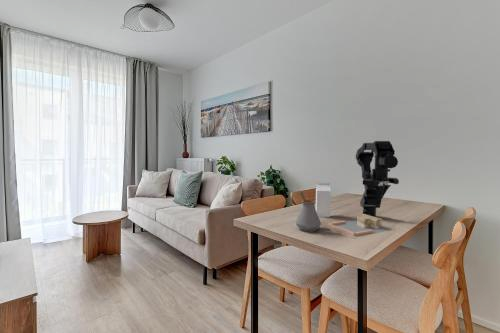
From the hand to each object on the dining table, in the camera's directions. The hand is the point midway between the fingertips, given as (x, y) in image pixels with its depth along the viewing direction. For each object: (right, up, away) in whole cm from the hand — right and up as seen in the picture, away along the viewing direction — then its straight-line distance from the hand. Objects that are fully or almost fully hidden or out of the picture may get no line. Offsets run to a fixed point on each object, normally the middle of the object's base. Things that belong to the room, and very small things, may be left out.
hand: (380, 199), depth 119 cm
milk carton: (-23, -12, +16) cm, 31 cm away
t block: (-8, -12, -3) cm, 15 cm away
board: (-14, -13, -6) cm, 20 cm away
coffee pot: (-36, -13, 0) cm, 39 cm away
